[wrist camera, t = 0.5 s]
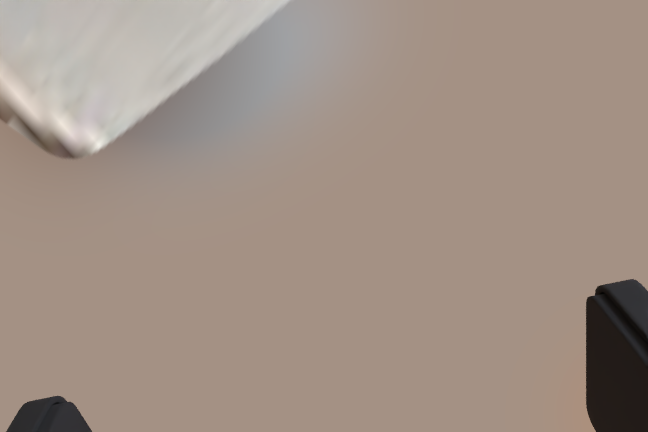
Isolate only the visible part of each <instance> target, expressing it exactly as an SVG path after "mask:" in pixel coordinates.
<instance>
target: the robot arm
mask: <svg viewBox="0 0 648 432" xmlns="http://www.w3.org/2000/svg"><path fill="white" fill-rule="evenodd" d="M586 405H587V411H588V415H589V418H590V420H591V423H592V425H593V427H594V429H595V430H596V432H648V291H647V290H646V289H645V288H644V287H643V286H642V285H641V284H640V283H639V282H638V281H636V280H634V279H630V280H626V281H620V282H615V283H611V284H605V285H601V286H598V287H597V289H596V293H595V296H590V297H588V298H587V302H586ZM6 432H92V431H91V429H90V428H89V426H88V425H87V423H86V421H85V420H84V418H83V417H82V416H81V414H80V412H79V411H78V409H77V407H76V406H75V405H74V404H73V403H71V402H67V401H66V400H65V399H64V398H63V397H61V396H54V397H50V398H44V399H39V400H35V401H30V402H27V403H25V404H24V405H23V406H22V407H21V409H20V410H19V411H18V413H17V415H16V416H15V418H14V420H13V421H12V423H11V425H10V426H9V428H8V430H7V431H6Z"/></svg>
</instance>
